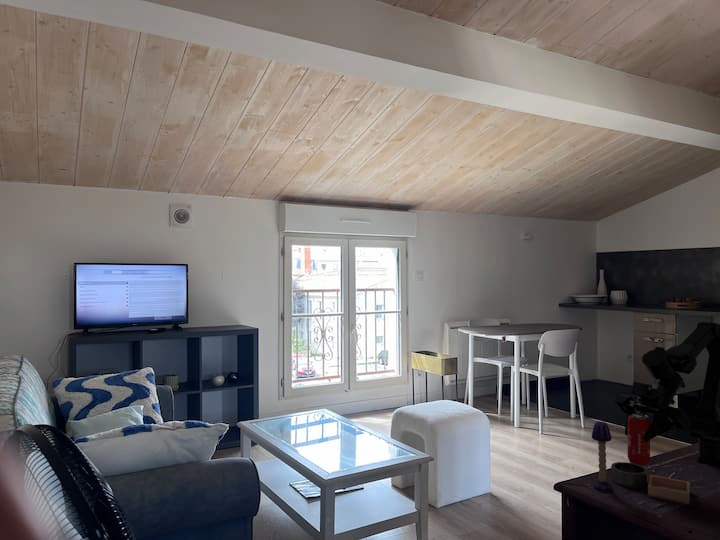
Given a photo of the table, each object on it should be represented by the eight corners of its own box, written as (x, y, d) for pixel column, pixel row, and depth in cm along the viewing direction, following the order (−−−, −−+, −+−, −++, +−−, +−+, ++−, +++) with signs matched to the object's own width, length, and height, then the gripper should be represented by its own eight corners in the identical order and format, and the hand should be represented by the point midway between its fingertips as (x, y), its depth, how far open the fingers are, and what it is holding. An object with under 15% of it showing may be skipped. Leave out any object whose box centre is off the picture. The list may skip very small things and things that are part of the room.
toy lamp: (604, 494, 135) (604, 426, 135) (587, 487, 139) (587, 422, 139) (615, 489, 138) (616, 423, 138) (598, 483, 142) (599, 419, 142)
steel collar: (613, 472, 149) (613, 460, 149) (648, 479, 145) (648, 465, 145) (609, 483, 142) (609, 469, 142) (646, 490, 138) (646, 476, 138)
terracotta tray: (650, 484, 141) (650, 474, 141) (689, 491, 137) (689, 481, 137) (647, 496, 134) (647, 486, 134) (689, 504, 129) (689, 494, 129)
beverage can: (643, 467, 138) (643, 420, 138) (623, 461, 142) (623, 415, 142) (653, 463, 141) (654, 416, 141) (634, 457, 145) (634, 412, 145)
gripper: (618, 364, 151) (589, 409, 147) (683, 377, 134) (653, 428, 130) (637, 390, 155) (610, 434, 150) (703, 405, 138) (675, 456, 133)
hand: (635, 437), depth 141 cm, fingers closed on beverage can, 5 cm apart
